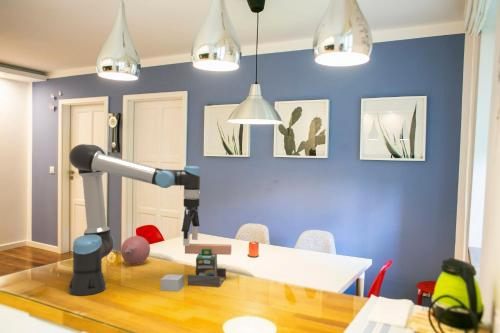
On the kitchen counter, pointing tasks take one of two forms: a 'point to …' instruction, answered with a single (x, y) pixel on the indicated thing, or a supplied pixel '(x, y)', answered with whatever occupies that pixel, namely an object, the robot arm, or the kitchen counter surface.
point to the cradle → (208, 279)
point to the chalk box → (206, 263)
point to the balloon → (135, 250)
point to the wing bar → (216, 248)
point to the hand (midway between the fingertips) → (190, 242)
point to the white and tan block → (172, 282)
